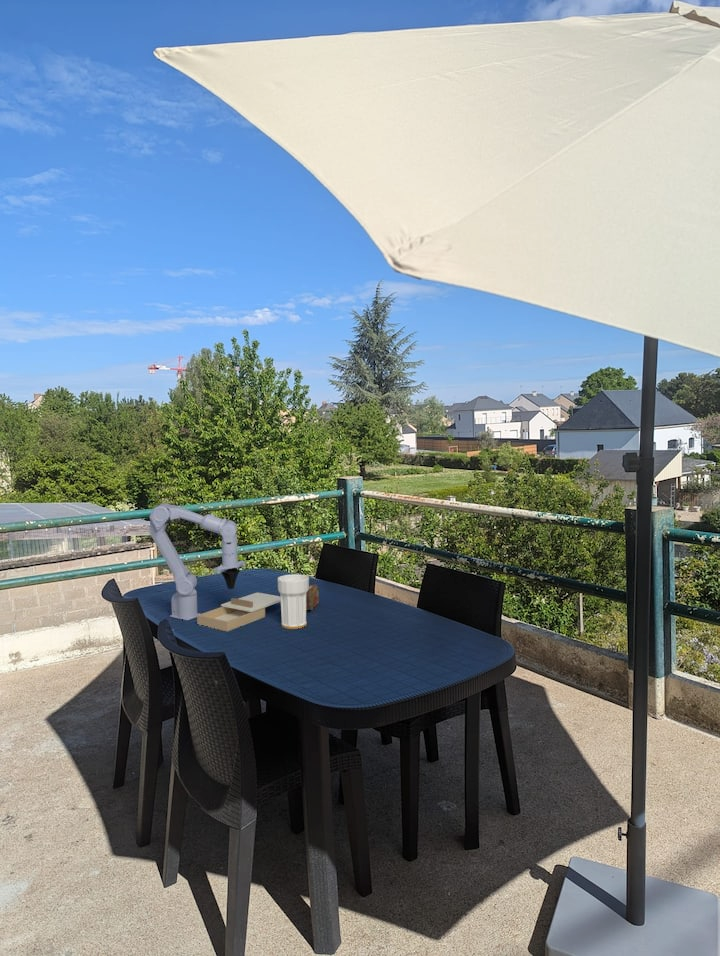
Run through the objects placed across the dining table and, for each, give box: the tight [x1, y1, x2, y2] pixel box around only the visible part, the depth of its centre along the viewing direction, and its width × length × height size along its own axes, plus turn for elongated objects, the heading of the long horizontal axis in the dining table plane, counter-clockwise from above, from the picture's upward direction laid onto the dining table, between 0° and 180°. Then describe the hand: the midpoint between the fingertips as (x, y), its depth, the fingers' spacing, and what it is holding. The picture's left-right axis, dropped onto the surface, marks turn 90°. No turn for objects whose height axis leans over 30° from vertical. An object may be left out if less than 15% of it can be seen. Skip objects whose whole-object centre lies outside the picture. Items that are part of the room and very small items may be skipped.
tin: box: [306, 583, 320, 612], centre depth 259 cm, size 15×3×8 cm, turn 168°
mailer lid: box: [220, 591, 281, 612], centre depth 253 cm, size 16×20×3 cm
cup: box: [277, 573, 310, 630], centre depth 237 cm, size 11×11×17 cm
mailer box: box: [196, 606, 266, 632], centre depth 243 cm, size 15×20×4 cm
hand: (230, 588), depth 249 cm, fingers closed
